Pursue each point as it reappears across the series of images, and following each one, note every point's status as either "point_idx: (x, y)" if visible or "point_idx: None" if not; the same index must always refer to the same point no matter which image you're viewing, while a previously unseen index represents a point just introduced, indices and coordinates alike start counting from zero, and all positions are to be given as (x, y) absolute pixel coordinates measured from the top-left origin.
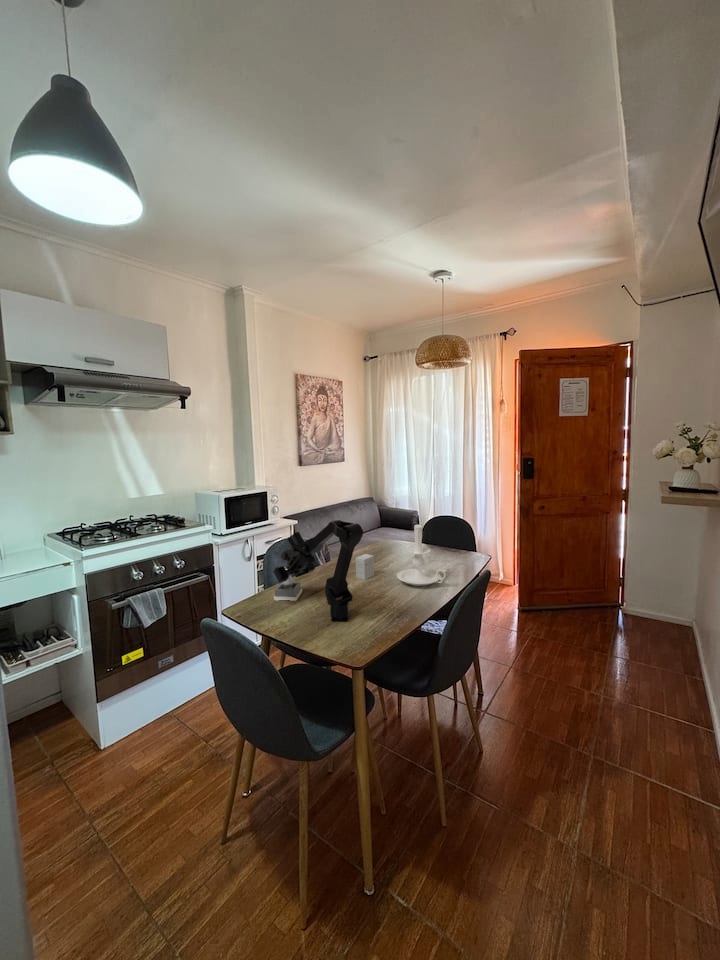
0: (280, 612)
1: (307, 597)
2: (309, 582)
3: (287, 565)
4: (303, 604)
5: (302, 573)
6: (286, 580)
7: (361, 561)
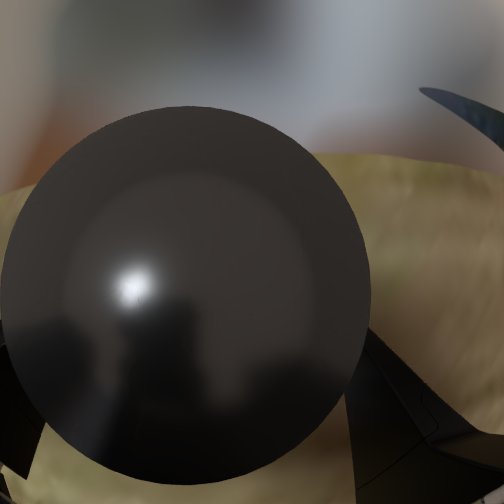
0: (47, 436)
1: (285, 455)
2: (456, 265)
3: (175, 285)
4: (186, 498)
5: (364, 484)
6: (21, 475)
7: None
